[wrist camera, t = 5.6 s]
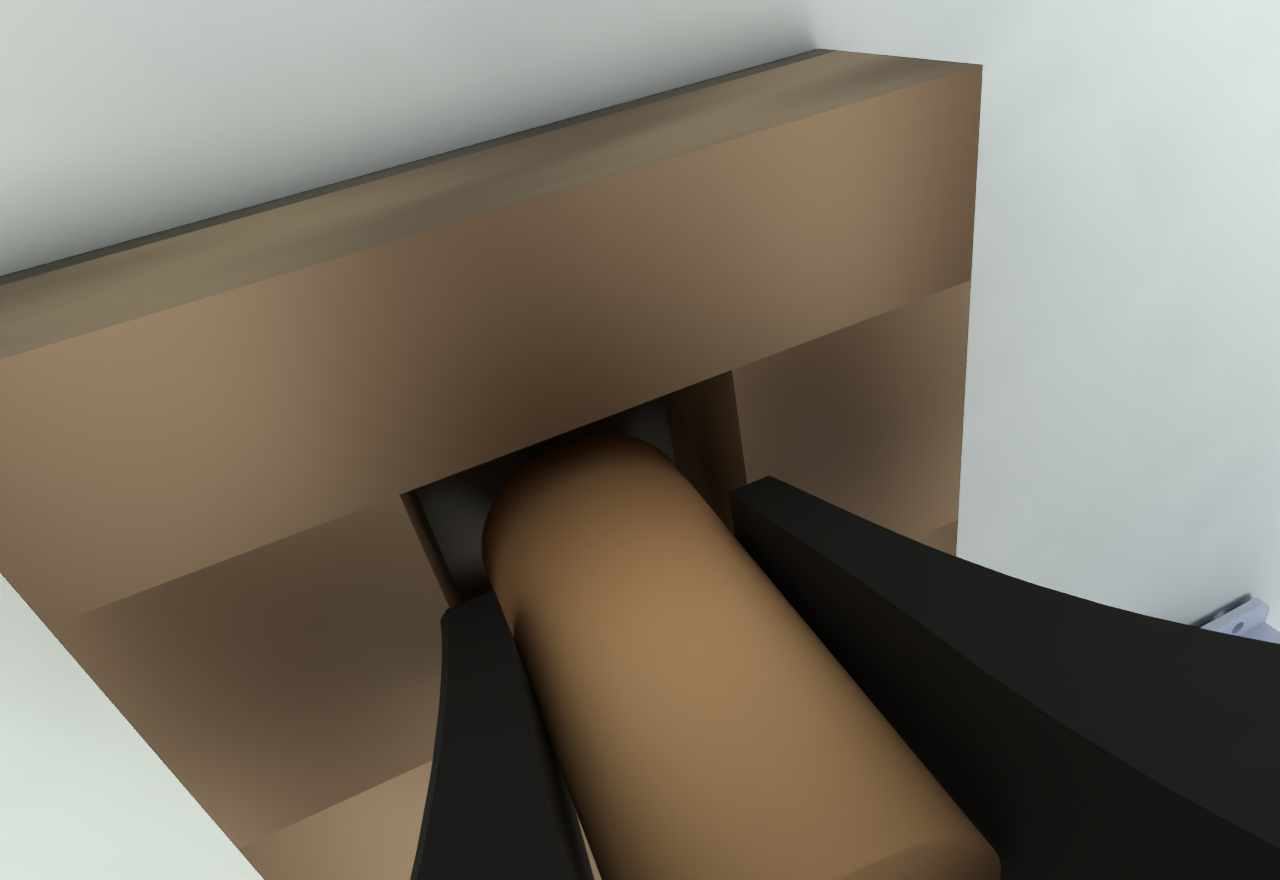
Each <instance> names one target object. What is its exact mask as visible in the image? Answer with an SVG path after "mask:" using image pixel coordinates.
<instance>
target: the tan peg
mask: <svg viewBox="0 0 1280 880" xmlns="http://www.w3.org/2000/svg"><path fill="white" fill-rule="evenodd" d="M481 551H482V559H483V563H484V566H485V570H486V573H487V575H488V578H489V581H490V583H491V586H492V589H493V590H495V593H496V595H497V598H498V600H499V603H500V605H501V608H502V610H503V613H504V616H505V618H506V621H507V623H508V626H509V628H510V631H511V633H512V636H513V638H514V641H515V644H516V646H517V649H518V652H519V654H520V657H521V660H522V662H523V665H524V667H525V670H526V673H527V675H528V678H529V681H530V683H531V686H532V689H533V691H534V694H535V697H536V699H537V703H538V706H539V709H540V713H541V716H542V720H543V723H544V726H545V729H546V732H547V735H548V738H549V741H550V743H551V746H552V749H553V751H554V754H555V757H556V759H557V762H558V765H559V767H560V770H561V773H562V775H563V778H564V781H565V783H566V786H567V789H568V791H569V794H570V797H571V799H572V802H573V805H574V807H575V810H576V813H577V815H578V818H579V821H580V823H581V826H582V829H583V831H584V834H585V837H586V839H587V842H588V845H589V847H590V850H591V853H592V855H593V858H594V861H595V863H596V866H597V869H598V871H599V874H600V877H601V879H602V880H1000V875H1001V865H1000V859H999V857H998V855H997V853H996V851H995V850H994V849H993V847H992V846H991V845H990V844H989V843H988V841H987V840H986V839H985V838H984V837H983V835H982V834H981V833H980V832H979V831H978V829H977V828H976V827H975V826H974V825H973V823H972V822H971V821H970V820H969V819H968V817H967V816H966V815H965V814H964V813H963V811H962V810H961V809H960V808H959V807H958V805H957V804H956V803H955V802H954V800H953V799H952V798H951V797H950V796H949V794H948V793H947V792H946V791H945V790H944V788H943V787H942V786H941V785H940V784H939V782H938V781H937V780H936V779H935V778H934V776H933V775H932V774H931V773H930V772H929V770H928V769H927V768H926V767H925V766H924V764H923V763H922V762H921V761H920V760H919V758H918V757H917V756H916V755H915V753H914V752H913V751H912V750H911V749H910V747H909V746H908V745H907V744H906V743H905V741H904V740H903V739H902V738H901V737H900V735H899V734H898V733H897V732H896V731H895V729H894V728H893V727H892V726H891V725H890V723H889V722H888V721H887V720H886V719H885V717H884V716H883V715H882V714H881V712H880V711H879V710H878V709H877V708H876V706H875V705H874V704H873V703H872V702H871V700H870V699H869V698H868V697H867V696H866V694H865V693H864V692H863V691H862V690H861V688H860V687H859V686H858V685H857V684H856V682H855V681H854V680H853V679H852V678H851V676H850V675H849V674H848V673H847V672H846V670H845V669H844V668H843V667H842V665H841V664H840V663H839V662H838V661H837V659H836V658H835V657H834V656H833V655H832V653H831V652H830V651H829V650H828V649H827V647H826V646H825V645H824V644H823V643H822V641H821V640H820V639H819V638H818V637H817V635H816V634H815V633H814V632H813V631H812V629H811V628H810V627H809V626H808V625H807V623H806V622H805V621H804V620H803V618H802V617H801V616H800V615H799V614H798V612H797V611H796V610H795V609H794V608H793V606H792V605H791V604H790V603H789V602H788V600H787V599H786V598H785V597H784V596H783V594H782V593H781V592H780V591H779V590H778V588H777V587H776V586H775V585H774V584H773V582H772V581H771V580H770V579H769V577H768V576H767V575H766V574H765V573H764V571H763V570H762V569H761V568H760V567H759V565H758V564H757V563H756V562H755V561H754V559H753V558H752V557H751V556H750V555H749V553H748V552H747V551H746V550H745V549H744V547H743V546H742V545H741V544H740V543H739V541H738V540H737V539H736V538H735V537H734V535H733V534H732V533H731V532H730V530H729V529H728V528H727V527H726V526H725V524H724V523H723V522H722V521H721V520H720V518H719V517H718V516H717V515H716V514H715V512H714V511H713V510H712V509H711V508H710V506H709V505H708V504H707V503H706V502H705V500H704V499H703V498H702V497H701V496H700V494H699V493H698V492H697V491H696V490H695V488H694V487H693V486H692V485H691V483H690V482H689V481H688V480H687V479H686V477H685V476H684V475H683V474H682V473H681V471H680V470H679V469H678V468H677V467H676V465H675V464H674V463H673V462H672V461H671V460H670V458H669V457H668V456H667V455H666V454H665V453H664V452H662V451H661V450H660V449H658V448H657V447H655V446H654V445H652V444H650V443H648V442H646V441H644V440H641V439H638V438H635V437H631V436H625V435H620V434H599V435H590V436H585V437H580V438H576V439H573V440H570V441H567V442H564V443H562V444H559V445H557V446H555V447H553V448H550V449H548V450H547V451H545V452H543V453H542V454H540V455H538V456H537V457H535V458H534V459H532V460H531V461H530V462H528V463H527V464H526V465H524V466H523V467H522V468H521V469H520V470H519V471H518V472H517V473H516V474H514V475H513V476H512V477H511V479H510V480H509V481H508V482H507V483H506V484H505V486H504V487H503V488H502V489H501V491H500V492H499V494H498V495H497V497H496V498H495V500H494V502H493V504H492V506H491V508H490V510H489V512H488V515H487V518H486V520H485V523H484V527H483V533H482V542H481Z"/></svg>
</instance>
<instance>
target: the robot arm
mask: <svg viewBox="0 0 1280 880" xmlns="http://www.w3.org/2000/svg"><path fill="white" fill-rule="evenodd" d="M729 499H730V505H731V512H732V519H733V525H734V532H735V538H736V539H737V540H738V541H739V543H740V544H741V545H742V546H743V547H744V549H745V550H746V551H747V552H748V553H749V555H750V556H751V557H752V558H753V559H754V561H755V562H756V563H757V564H758V565H759V567H760V568H761V569H762V570H763V571H764V573H765V574H766V575H767V576H768V577H769V579H770V580H771V581H772V582H773V584H774V585H775V586H776V587H777V588H778V590H779V591H780V592H781V593H782V594H783V596H784V597H785V598H786V599H787V600H788V602H789V603H790V604H791V605H792V606H793V608H794V609H795V610H796V611H797V612H798V614H799V615H800V616H801V617H802V618H803V620H804V621H805V622H806V623H807V625H808V626H809V627H810V628H811V629H812V631H813V632H814V633H815V634H816V635H817V637H818V638H819V639H820V640H821V641H822V643H823V644H824V645H825V646H826V647H827V649H828V650H829V651H830V652H831V653H832V655H833V656H834V657H835V658H836V659H837V661H838V662H839V663H840V664H841V665H842V667H843V668H844V669H845V670H846V672H847V673H848V674H849V675H850V676H851V678H852V679H853V680H854V681H855V682H856V684H857V685H858V686H859V687H860V688H861V690H862V691H863V692H864V693H865V694H866V696H867V697H868V698H869V699H870V700H871V702H872V703H873V704H874V705H875V706H876V708H877V709H878V710H879V711H880V712H881V714H882V715H883V716H884V717H885V719H886V720H887V721H888V722H889V723H890V725H891V726H892V727H893V728H894V729H895V731H896V732H897V733H898V734H899V735H900V737H901V738H902V739H903V740H904V741H905V743H906V744H907V745H908V746H909V747H910V749H911V750H912V751H913V752H914V753H915V755H916V756H917V757H918V758H919V760H920V761H921V762H922V763H923V764H924V766H925V767H926V768H927V769H928V770H929V772H930V773H931V774H932V775H933V776H934V778H935V779H936V780H937V781H938V782H939V784H940V785H941V786H942V787H943V788H944V790H945V791H946V792H947V793H948V794H949V796H950V797H951V798H952V799H953V800H954V802H955V803H956V804H957V805H958V807H959V808H960V809H961V810H962V811H963V813H964V814H965V815H966V816H967V817H968V819H969V820H970V821H971V822H972V823H973V825H974V826H975V827H976V828H977V829H978V831H979V832H980V833H981V834H982V835H983V837H984V838H985V839H986V840H987V841H988V843H989V844H990V845H991V846H992V847H993V849H994V850H995V851H996V853H997V855H998V857H999V859H1000V865H1001V875H1000V880H1280V632H1278V631H1277V630H1275V629H1274V628H1272V627H1271V626H1269V625H1267V624H1266V623H1264V622H1265V619H1266V616H1267V614H1268V611H1269V606H1268V604H1266V603H1265V602H1263V601H1261V600H1260V599H1252V600H1250V601H1248V602H1246V603H1244V604H1242V605H1241V606H1239V607H1237V608H1235V609H1233V610H1231V611H1230V612H1228V613H1226V614H1224V615H1222V616H1220V617H1219V618H1217V619H1215V620H1213V621H1211V622H1209V623H1207V624H1206V625H1204V626H1202V627H1200V628H1198V627H1194V626H1190V625H1185V624H1181V623H1176V622H1172V621H1168V620H1163V619H1159V618H1154V617H1150V616H1146V615H1142V614H1138V613H1134V612H1130V611H1126V610H1122V609H1118V608H1114V607H1110V606H1107V605H1103V604H1099V603H1096V602H1093V601H1089V600H1086V599H1082V598H1079V597H1076V596H1072V595H1069V594H1065V593H1062V592H1059V591H1055V590H1052V589H1048V588H1045V587H1042V586H1038V585H1035V584H1032V583H1029V582H1026V581H1023V580H1020V579H1017V578H1014V577H1011V576H1008V575H1005V574H1002V573H999V572H997V571H994V570H991V569H988V568H986V567H983V566H980V565H977V564H975V563H972V562H969V561H966V560H964V559H961V558H958V557H955V556H953V555H950V554H948V553H945V552H943V551H940V550H938V549H935V548H932V547H930V546H927V545H925V544H922V543H920V542H918V541H915V540H913V539H910V538H908V537H905V536H903V535H901V534H898V533H896V532H894V531H891V530H889V529H887V528H884V527H882V526H880V525H878V524H875V523H873V522H871V521H868V520H866V519H864V518H862V517H859V516H857V515H855V514H853V513H851V512H848V511H846V510H844V509H842V508H840V507H837V506H835V505H833V504H831V503H829V502H827V501H824V500H822V499H820V498H818V497H816V496H814V495H811V494H809V493H807V492H805V491H803V490H801V489H799V488H796V487H794V486H792V485H790V484H788V483H785V482H783V481H781V480H779V479H776V478H774V477H772V476H766V477H764V478H762V479H759V480H757V481H754V482H752V483H750V484H747V485H745V486H742V487H740V488H738V489H735V490H733V491H730V492H729ZM440 624H441V636H442V666H441V684H440V699H439V710H438V718H437V727H436V735H435V743H434V752H433V760H432V767H431V774H430V780H429V786H428V791H427V796H426V802H425V807H424V813H423V818H422V824H421V829H420V834H419V840H418V845H417V850H416V855H415V860H414V864H413V868H412V873H411V877H410V880H595V879H594V876H593V872H592V868H591V865H590V861H589V857H588V854H587V850H586V847H585V843H584V839H583V836H582V832H581V828H580V825H579V821H578V817H577V814H576V810H575V807H574V805H573V802H572V799H571V797H570V794H569V791H568V789H567V786H566V783H565V781H564V778H563V775H562V773H561V770H560V767H559V765H558V762H557V759H556V757H555V754H554V751H553V749H552V746H551V743H550V741H549V738H548V735H547V732H546V729H545V726H544V723H543V720H542V716H541V713H540V709H539V706H538V703H537V699H536V697H535V694H534V691H533V689H532V686H531V683H530V681H529V678H528V675H527V673H526V670H525V667H524V665H523V662H522V660H521V657H520V654H519V652H518V649H517V646H516V644H515V641H514V638H513V636H512V633H511V631H510V628H509V626H508V623H507V621H506V618H505V616H504V613H503V610H502V608H501V605H500V603H499V600H498V598H497V595H496V593H495V590H492V591H490V592H487V593H485V594H482V595H480V596H478V597H475V598H473V599H470V600H468V601H466V602H463V603H461V604H458V605H456V606H454V607H451V608H449V609H446V611H445V613H444V614H443V616H442V618H441V619H440Z"/></svg>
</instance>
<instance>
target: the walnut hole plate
mask: <svg viewBox="0 0 1280 880" xmlns="http://www.w3.org/2000/svg"><path fill="white" fill-rule="evenodd" d="M982 67H983V65H979V64H969V63H959V62H949V61H938V60H928V59H918V58H908V57H898V56H888V55H877V54H867V53H857V52H847V51H837V50H826V49H817V50H814V51H810V52H807V53H803V54H799V55H796V56H792V57H789V58H785V59H781V60H778V61H774V62H771V63H767V64H763V65H760V66H756V67H753V68H749V69H745V70H742V71H738V72H735V73H731V74H727V75H724V76H720V77H717V78H713V79H709V80H706V81H702V82H699V83H695V84H692V85H688V86H684V87H681V88H677V89H674V90H670V91H666V92H663V93H659V94H656V95H652V96H648V97H645V98H641V99H638V100H634V101H630V102H627V103H623V104H620V105H616V106H612V107H609V108H605V109H602V110H598V111H594V112H591V113H587V114H584V115H580V116H576V117H573V118H569V119H566V120H562V121H559V122H555V123H551V124H548V125H544V126H541V127H537V128H533V129H530V130H526V131H523V132H519V133H515V134H512V135H508V136H505V137H501V138H497V139H494V140H490V141H487V142H483V143H479V144H476V145H472V146H469V147H465V148H461V149H458V150H454V151H451V152H447V153H443V154H440V155H436V156H433V157H429V158H425V159H422V160H418V161H415V162H411V163H408V164H404V165H400V166H397V167H393V168H390V169H386V170H382V171H379V172H375V173H372V174H368V175H364V176H361V177H357V178H354V179H350V180H346V181H343V182H339V183H336V184H332V185H328V186H325V187H321V188H318V189H314V190H310V191H307V192H303V193H300V194H296V195H292V196H289V197H285V198H282V199H278V200H275V201H271V202H267V203H264V204H260V205H257V206H253V207H249V208H246V209H242V210H239V211H235V212H231V213H228V214H224V215H221V216H217V217H213V218H210V219H206V220H203V221H199V222H195V223H192V224H188V225H185V226H181V227H177V228H174V229H170V230H167V231H163V232H159V233H156V234H152V235H149V236H145V237H141V238H138V239H134V240H131V241H127V242H124V243H120V244H116V245H113V246H109V247H106V248H102V249H98V250H95V251H91V252H88V253H84V254H80V255H77V256H73V257H70V258H66V259H62V260H59V261H55V262H52V263H48V264H44V265H41V266H37V267H34V268H30V269H26V270H23V271H19V272H16V273H12V274H8V275H5V276H1V277H0V573H1V574H2V575H3V576H4V577H5V579H6V580H7V581H8V582H9V583H10V584H11V586H12V587H13V588H14V589H15V590H16V591H17V593H18V594H19V595H20V596H21V597H22V598H23V600H24V601H25V602H26V603H27V604H28V605H29V607H30V608H31V609H32V610H33V611H34V612H35V614H36V615H37V616H38V617H39V618H40V619H41V620H42V622H43V623H44V624H45V625H46V626H47V627H48V629H49V630H50V631H51V632H52V633H53V634H54V636H55V637H56V638H57V639H58V640H59V641H60V643H61V644H62V645H63V646H64V647H65V648H66V650H67V651H68V652H69V653H70V654H71V655H72V657H73V658H74V659H75V660H76V661H77V662H78V664H79V665H80V666H81V667H82V668H83V669H84V670H85V672H86V673H87V674H88V675H89V676H90V677H91V679H92V680H93V681H94V682H95V683H96V684H97V686H98V687H99V688H100V689H101V690H102V691H103V693H104V694H105V695H106V696H107V697H108V698H109V700H110V701H111V702H112V703H113V704H114V705H115V707H116V708H117V709H118V710H119V711H120V712H121V714H122V715H123V716H124V717H125V718H126V719H127V720H128V722H129V723H130V724H131V725H132V726H133V727H134V729H135V730H136V731H137V732H138V733H139V734H140V736H141V737H142V738H143V739H144V740H145V741H146V743H147V744H148V745H149V746H150V747H151V748H152V750H153V751H154V752H155V753H156V754H157V755H158V757H159V758H160V759H161V760H162V761H163V762H164V764H165V765H166V766H167V767H168V768H169V769H170V770H171V772H172V773H173V774H174V775H175V776H176V777H177V779H178V780H179V781H180V782H181V783H182V784H183V786H184V787H185V788H186V789H187V790H188V791H189V793H190V794H191V795H192V796H193V797H194V798H195V800H196V801H197V802H198V803H199V804H200V805H201V807H202V808H203V809H204V810H205V811H206V812H207V814H208V815H209V816H210V817H211V818H212V819H213V820H214V822H215V823H216V824H217V825H218V826H219V827H220V829H221V830H222V831H223V832H224V833H225V834H226V836H227V837H228V838H229V839H230V840H231V841H232V843H233V844H234V845H235V846H236V847H237V848H238V850H239V851H240V852H241V853H242V854H243V855H244V857H245V858H246V859H247V860H248V861H249V862H250V864H251V865H252V866H253V867H254V868H255V869H256V870H257V872H258V873H259V874H260V875H261V876H262V877H263V879H264V880H410V877H411V873H412V868H413V864H414V860H415V855H416V850H417V845H418V840H419V834H420V829H421V824H422V818H423V813H424V807H425V802H426V796H427V791H428V786H429V780H430V774H431V767H432V760H433V752H434V743H435V735H436V727H437V718H438V710H439V699H440V684H441V666H442V636H441V624H440V619H441V618H442V616H443V614H444V613H445V611H446V609H449V608H451V607H454V606H456V605H458V604H461V603H463V602H466V601H468V600H470V599H473V598H475V597H478V596H480V595H482V594H485V593H487V592H490V591H492V590H493V589H492V586H491V583H490V581H489V578H488V575H487V573H486V570H485V566H484V563H483V559H482V551H481V542H482V533H483V527H484V523H485V520H486V518H487V515H488V512H489V510H490V508H491V506H492V504H493V502H494V500H495V498H496V497H497V495H498V494H499V492H500V491H501V489H502V488H503V487H504V486H505V484H506V483H507V482H508V481H509V480H510V479H511V477H512V476H513V475H514V474H516V473H517V472H518V471H519V470H520V469H521V468H522V467H523V466H524V465H526V464H527V463H528V462H530V461H531V460H532V459H534V458H535V457H537V456H538V455H540V454H542V453H543V452H545V451H547V450H548V449H550V448H553V447H555V446H557V445H559V444H562V443H564V442H567V441H570V440H573V439H576V438H580V437H585V436H590V435H599V434H620V435H625V436H631V437H635V438H638V439H641V440H644V441H646V442H648V443H650V444H652V445H654V446H655V447H657V448H658V449H660V450H661V451H662V452H664V453H665V454H666V455H667V456H668V457H669V458H670V460H671V461H672V462H673V463H674V464H675V465H676V467H677V468H678V469H679V470H680V471H681V473H682V474H683V475H684V476H685V477H686V479H687V480H688V481H689V482H690V483H691V485H692V486H693V487H694V488H695V490H696V491H697V492H698V493H699V494H700V496H701V497H702V498H703V499H704V500H705V502H706V503H707V504H708V505H709V506H710V508H711V509H712V510H713V511H714V512H715V514H716V515H717V516H718V517H719V518H720V520H721V521H722V522H723V523H724V524H725V526H726V527H727V528H728V529H729V530H730V532H731V533H732V534H733V535H734V537H735V532H734V525H733V519H732V512H731V505H730V499H729V492H730V491H733V490H735V489H738V488H740V487H742V486H745V485H747V484H750V483H752V482H754V481H757V480H759V479H762V478H764V477H766V476H772V477H774V478H776V479H779V480H781V481H783V482H785V483H788V484H790V485H792V486H794V487H796V488H799V489H801V490H803V491H805V492H807V493H809V494H811V495H814V496H816V497H818V498H820V499H822V500H824V501H827V502H829V503H831V504H833V505H835V506H837V507H840V508H842V509H844V510H846V511H848V512H851V513H853V514H855V515H857V516H859V517H862V518H864V519H866V520H868V521H871V522H873V523H875V524H878V525H880V526H882V527H884V528H887V529H889V530H891V531H894V532H896V533H898V534H901V535H903V536H905V537H908V538H910V539H913V540H915V541H918V542H920V543H922V544H925V545H927V546H930V547H932V548H935V549H938V550H940V551H943V552H945V553H948V554H950V555H953V556H955V557H956V544H957V526H958V507H959V489H960V471H961V452H962V434H963V416H964V397H965V379H966V361H967V342H968V324H969V306H970V287H971V269H972V251H973V232H974V214H975V196H976V177H977V159H978V141H979V122H980V104H981V86H982ZM576 814H577V813H576ZM577 817H578V815H577ZM578 821H579V818H578ZM579 825H580V828H581V832H582V836H583V839H584V843H585V847H586V850H587V854H588V857H589V861H590V865H591V868H592V872H593V876H594V879H595V880H602V879H601V877H600V874H599V871H598V869H597V866H596V863H595V861H594V858H593V855H592V853H591V850H590V847H589V845H588V842H587V839H586V837H585V834H584V831H583V829H582V826H581V823H580V821H579Z"/></svg>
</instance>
